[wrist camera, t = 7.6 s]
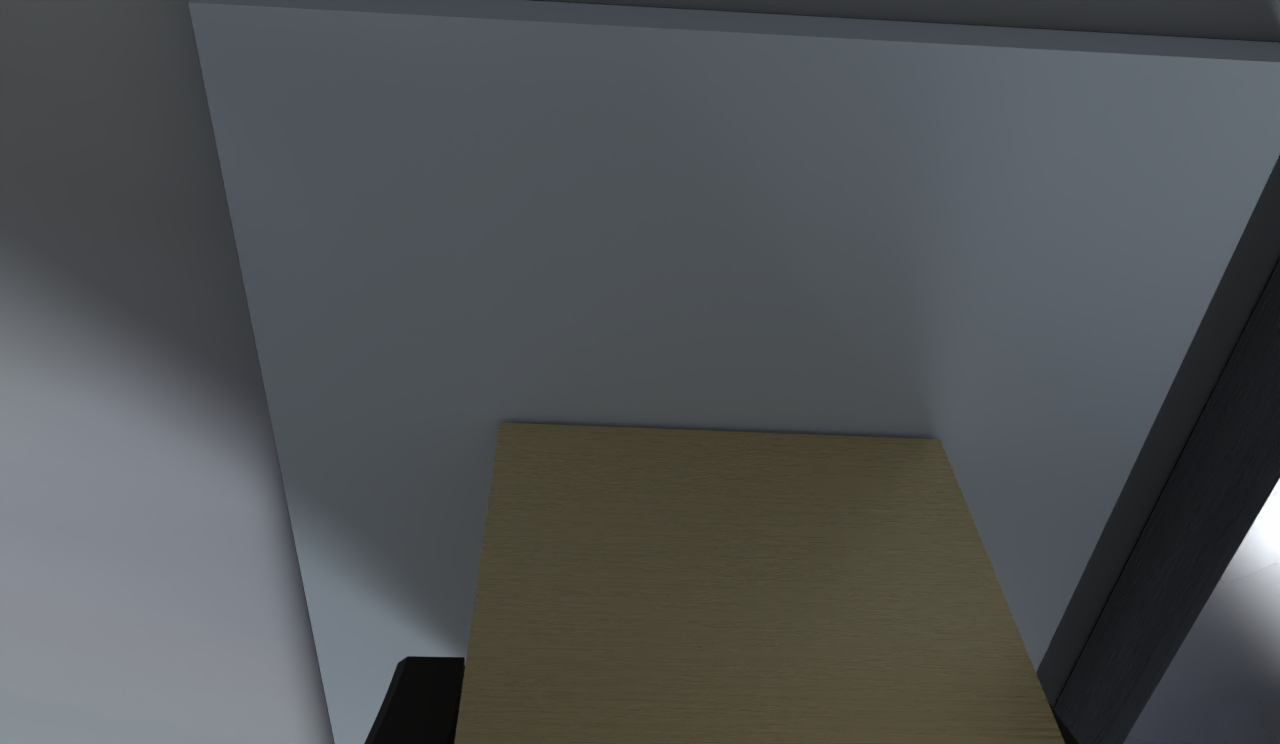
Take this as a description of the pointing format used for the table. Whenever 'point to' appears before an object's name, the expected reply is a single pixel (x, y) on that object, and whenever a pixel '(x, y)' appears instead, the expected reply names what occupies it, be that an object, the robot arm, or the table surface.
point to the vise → (1200, 580)
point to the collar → (738, 596)
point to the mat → (708, 262)
